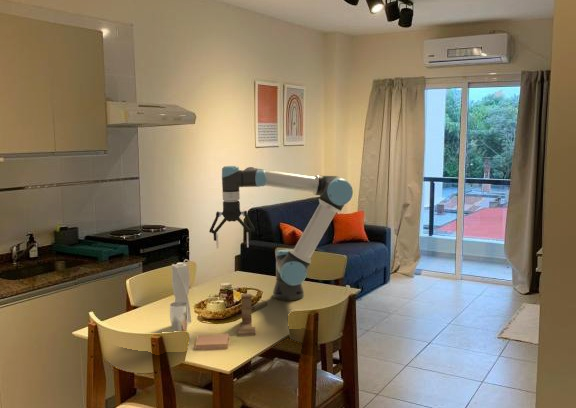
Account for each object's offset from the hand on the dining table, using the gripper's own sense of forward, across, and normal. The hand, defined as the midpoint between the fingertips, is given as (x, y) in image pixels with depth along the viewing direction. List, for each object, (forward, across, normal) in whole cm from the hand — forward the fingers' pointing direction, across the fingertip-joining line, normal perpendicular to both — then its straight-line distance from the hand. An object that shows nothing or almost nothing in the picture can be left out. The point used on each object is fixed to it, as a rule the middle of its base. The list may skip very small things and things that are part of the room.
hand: (232, 247), depth 253 cm
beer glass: (+29, -21, -36) cm, 51 cm away
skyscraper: (+29, -22, -17) cm, 40 cm away
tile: (+28, -8, -36) cm, 46 cm away
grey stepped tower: (+29, +5, -26) cm, 39 cm away
